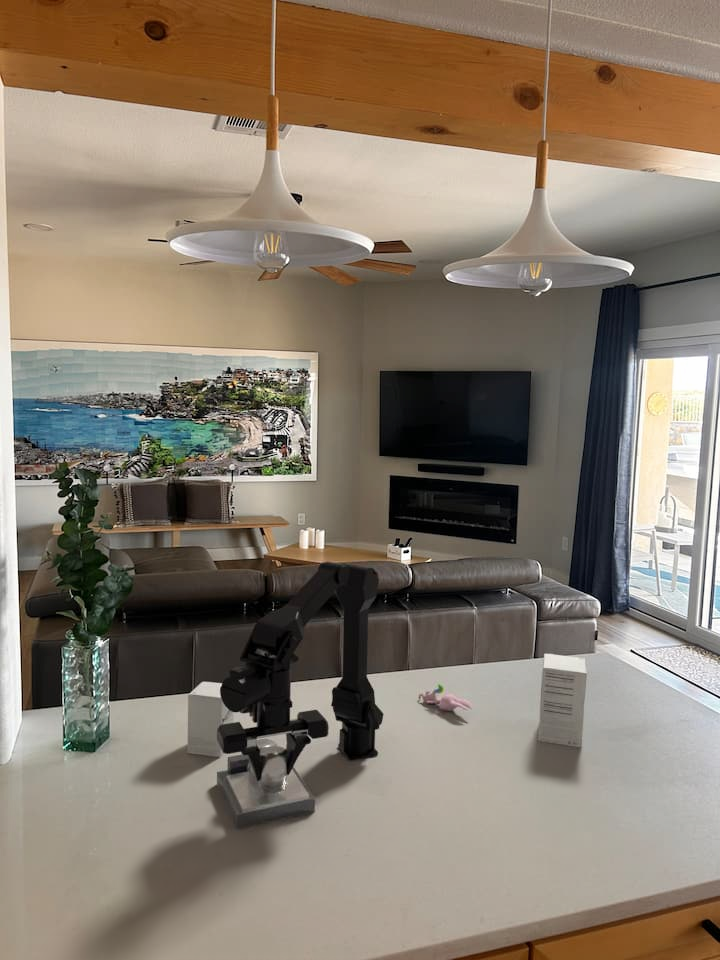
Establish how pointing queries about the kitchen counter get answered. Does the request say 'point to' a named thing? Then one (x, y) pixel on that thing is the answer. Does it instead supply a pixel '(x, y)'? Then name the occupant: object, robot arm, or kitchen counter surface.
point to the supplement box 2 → (562, 700)
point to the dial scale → (261, 796)
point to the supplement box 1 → (206, 719)
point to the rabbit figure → (444, 700)
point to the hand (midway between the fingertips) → (272, 776)
